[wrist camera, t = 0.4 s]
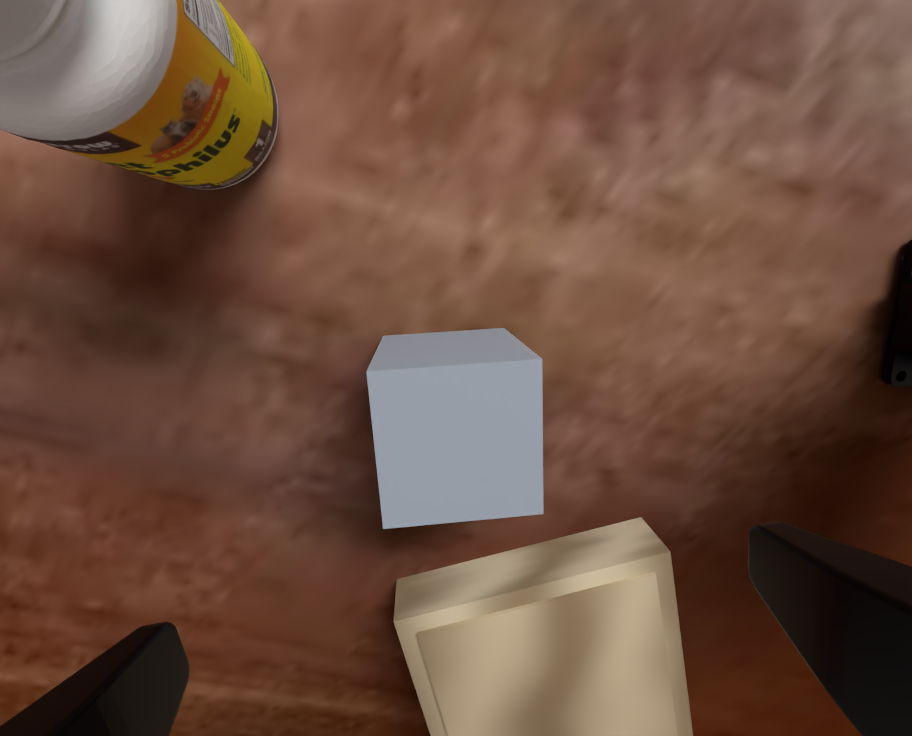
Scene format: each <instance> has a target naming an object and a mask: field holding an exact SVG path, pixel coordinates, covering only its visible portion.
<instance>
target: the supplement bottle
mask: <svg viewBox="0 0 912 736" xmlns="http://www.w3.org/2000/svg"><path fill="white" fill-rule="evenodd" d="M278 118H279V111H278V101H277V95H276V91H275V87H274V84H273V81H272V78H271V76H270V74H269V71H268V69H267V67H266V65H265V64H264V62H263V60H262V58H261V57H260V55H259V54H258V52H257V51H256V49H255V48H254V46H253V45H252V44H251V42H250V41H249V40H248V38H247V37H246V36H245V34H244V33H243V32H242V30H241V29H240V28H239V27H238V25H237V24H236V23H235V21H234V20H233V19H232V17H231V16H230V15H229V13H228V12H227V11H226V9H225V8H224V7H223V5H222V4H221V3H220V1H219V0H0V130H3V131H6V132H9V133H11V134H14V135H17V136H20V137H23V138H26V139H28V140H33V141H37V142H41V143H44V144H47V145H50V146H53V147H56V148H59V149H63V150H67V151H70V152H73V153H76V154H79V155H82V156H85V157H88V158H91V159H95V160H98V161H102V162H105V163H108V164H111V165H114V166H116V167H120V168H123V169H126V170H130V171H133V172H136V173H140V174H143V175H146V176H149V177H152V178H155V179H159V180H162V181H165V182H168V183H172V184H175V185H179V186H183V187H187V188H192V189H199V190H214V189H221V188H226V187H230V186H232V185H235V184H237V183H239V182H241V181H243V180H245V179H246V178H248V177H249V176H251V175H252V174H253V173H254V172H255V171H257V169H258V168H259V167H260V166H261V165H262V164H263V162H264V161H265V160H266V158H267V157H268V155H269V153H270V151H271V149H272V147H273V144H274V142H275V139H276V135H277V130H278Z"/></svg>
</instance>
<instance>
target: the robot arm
mask: <svg viewBox="0 0 912 736" xmlns="http://www.w3.org/2000/svg"><path fill="white" fill-rule="evenodd" d="M882 380H883V382H884V383H886V384H888V385H892V386H896V387H904V386H912V240H910V241H909V243H908V244H907V246H906V249H905V253H904V258H903V264H902V269H901V275H900V280H899V285H898V291H897V296H896V302H895V307H894V312H893V318H892V323H891V329H890V334H889V339H888V345H887V350H886V356H885V361H884V366H883V372H882ZM748 572H749V576H750V579H751V582H752V584H753V586H754V587H755V589H756V590H757V592H758V593H759V595H760V596H761V598H762V599H763V601H764V602H765V603H766V605H767V606H768V608H769V609H770V611H771V612H772V614H773V615H774V617H775V618H776V620H777V621H778V622H779V624H780V625H781V627H782V628H783V630H784V631H785V633H786V634H787V636H788V637H789V638H790V640H791V641H792V643H793V644H794V646H795V647H796V649H797V650H798V652H799V653H800V655H801V656H802V657H803V659H804V660H805V662H806V663H807V665H808V666H809V668H810V669H811V671H812V672H813V673H814V675H815V676H816V677H817V679H818V680H819V682H820V683H821V684H822V686H823V687H824V689H825V690H826V691H827V692H828V694H829V695H830V696H831V698H832V699H833V700H834V701H835V703H836V704H837V705H838V706H839V708H840V709H841V710H842V712H843V713H844V714H845V715H846V716H847V718H848V719H849V720H850V721H851V723H852V724H853V725H854V726H855V728H856V729H857V730H858V731H859V733H860V734H861V735H862V736H912V567H911V566H908V565H905V564H902V563H900V562H897V561H894V560H891V559H888V558H885V557H882V556H879V555H876V554H873V553H871V552H868V551H865V550H862V549H859V548H856V547H853V546H850V545H847V544H844V543H842V542H839V541H836V540H833V539H830V538H827V537H824V536H821V535H818V534H815V533H813V532H810V531H807V530H804V529H801V528H798V527H795V526H792V525H789V524H786V523H784V522H779V521H774V522H768V523H762V524H756V525H754V526H752V527H751V529H750V531H749V544H748ZM188 678H189V662H188V659H187V656H186V654H185V651H184V648H183V645H182V643H181V640H180V637H179V635H178V632H177V629H176V627H175V626H174V625H173V624H172V623H170V622H162V623H156V624H150V625H145V626H142V627H140V628H138V629H136V630H135V631H133V632H132V633H131V634H129V635H128V636H126V637H125V638H124V639H122V640H121V641H119V642H118V643H117V644H115V645H114V646H112V647H111V648H110V649H108V650H107V651H105V652H104V653H103V654H101V655H100V656H98V657H97V658H96V659H94V660H93V661H91V662H90V663H89V664H87V665H86V666H84V667H83V668H82V669H80V670H79V671H77V672H76V673H74V674H73V675H72V676H70V677H69V678H67V679H66V680H65V681H63V682H62V683H60V684H59V685H58V686H56V687H55V688H53V689H52V690H51V691H49V692H48V693H46V694H45V695H44V696H42V697H41V698H39V699H38V700H37V701H35V702H34V703H32V704H31V705H30V706H28V707H27V708H25V709H24V710H23V711H21V712H20V713H18V714H17V715H16V716H14V717H13V718H11V719H10V720H8V721H7V722H6V723H4V724H3V725H1V726H0V736H169V735H170V732H171V729H172V726H173V723H174V720H175V717H176V714H177V712H178V709H179V706H180V703H181V700H182V697H183V694H184V692H185V689H186V686H187V683H188Z"/></svg>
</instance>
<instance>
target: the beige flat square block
mask: <svg viewBox="0 0 912 736" xmlns="http://www.w3.org/2000/svg"><path fill="white" fill-rule="evenodd" d="M394 625H395V628H396V631H397V634H398V637H399V640H400V643H401V646H402V649H403V652H404V656H405V659H406V662H407V665H408V668H409V671H410V674H411V677H412V680H413V683H414V686H415V689H416V692H417V695H418V699H419V702H420V705H421V708H422V711H423V714H424V717H425V720H426V723H427V726H428V729H429V732H430V735H431V736H693V732H692V724H691V716H690V707H689V699H688V691H687V683H686V675H685V667H684V658H683V650H682V642H681V634H680V626H679V618H678V609H677V601H676V593H675V585H674V577H673V569H672V560H671V552H670V551H669V549H668V548H667V547H666V546H665V545H664V543H663V542H662V541H661V540H660V539H659V538H658V536H657V535H656V534H655V533H654V532H653V531H652V529H651V528H650V527H649V526H648V525H647V523H646V522H645V521H644V520H643V519H642V518H641V517H640V518H636V519H632V520H628V521H624V522H620V523H616V524H612V525H608V526H604V527H600V528H596V529H593V530H589V531H585V532H581V533H577V534H573V535H569V536H565V537H561V538H557V539H553V540H549V541H545V542H541V543H538V544H534V545H530V546H526V547H522V548H518V549H514V550H510V551H506V552H502V553H498V554H494V555H490V556H487V557H483V558H479V559H475V560H471V561H467V562H463V563H459V564H455V565H451V566H447V567H443V568H439V569H435V570H432V571H428V572H424V573H420V574H416V575H412V576H408V577H404V578H400V579H397V582H396V596H395V609H394Z"/></svg>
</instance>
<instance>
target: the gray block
mask: <svg viewBox="0 0 912 736" xmlns="http://www.w3.org/2000/svg"><path fill="white" fill-rule="evenodd" d="M366 372H367V382H368V391H369V401H370V410H371V419H372V429H373V438H374V448H375V457H376V467H377V476H378V485H379V495H380V504H381V514H382V523H383V529H390V528H401V527H411V526H422V525H432V524H443V523H453V522H464V521H474V520H485V519H496V518H506V517H517V516H527V515H538V514H543V399H542V358H541V357H539V356H538V355H537V354H536V353H534V352H533V351H532V350H531V349H529V348H528V347H527V346H526V345H524V344H523V343H522V342H521V341H519V340H518V339H517V338H516V337H514V336H513V335H512V334H511V333H509V332H508V331H507V330H506V329H504V328H496V329H481V330H466V331H451V332H436V333H421V334H406V335H391V336H383V337H382V339H381V342H380V344H379V346H378V348H377V350H376V352H375V354H374V356H373V359H372V361H371V363H370V365H369V367H368V369H367V371H366Z"/></svg>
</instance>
